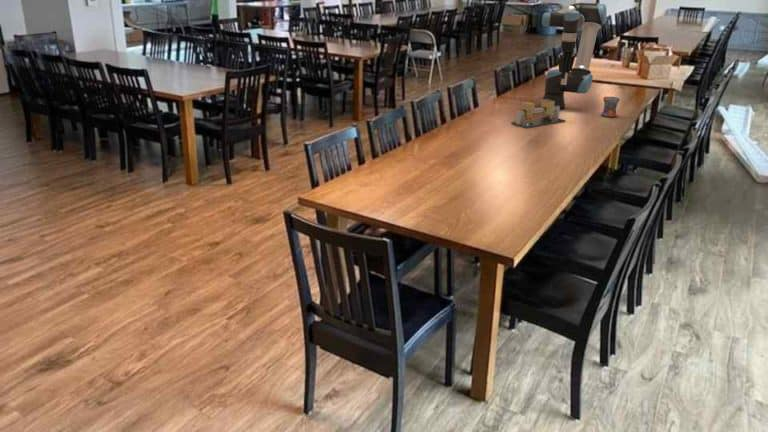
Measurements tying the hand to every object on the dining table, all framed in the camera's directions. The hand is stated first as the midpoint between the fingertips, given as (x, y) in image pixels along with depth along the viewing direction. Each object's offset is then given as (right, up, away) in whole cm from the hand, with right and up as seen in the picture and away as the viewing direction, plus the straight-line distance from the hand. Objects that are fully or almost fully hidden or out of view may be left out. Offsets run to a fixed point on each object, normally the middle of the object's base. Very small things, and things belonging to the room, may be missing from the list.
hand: (563, 84), depth 339 cm
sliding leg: (-8, -19, +4) cm, 21 cm away
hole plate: (-13, -21, +2) cm, 25 cm away
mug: (+33, -14, +20) cm, 42 cm away
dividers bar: (-13, -20, +1) cm, 24 cm away
